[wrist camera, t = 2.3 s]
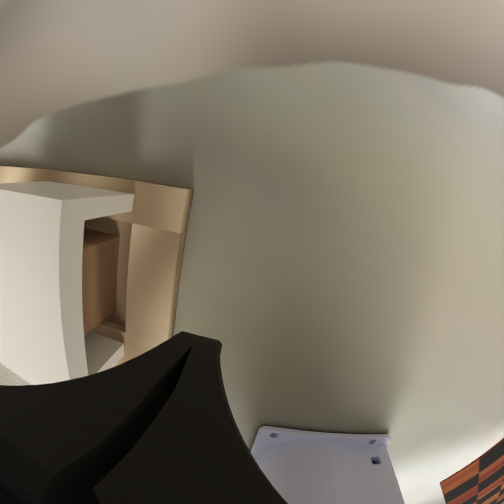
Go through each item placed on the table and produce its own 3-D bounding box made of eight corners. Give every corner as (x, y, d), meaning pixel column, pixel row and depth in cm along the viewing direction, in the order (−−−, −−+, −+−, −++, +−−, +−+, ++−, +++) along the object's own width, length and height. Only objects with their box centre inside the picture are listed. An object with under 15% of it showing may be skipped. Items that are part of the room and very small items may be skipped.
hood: (134, 194, 12) (62, 200, 7) (124, 354, 14) (76, 410, 9) (47, 181, 13) (-23, 185, 8) (47, 322, 15) (-6, 358, 10)
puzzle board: (193, 189, 13) (187, 189, 12) (169, 389, 16) (164, 399, 15) (-7, 165, 14) (-16, 165, 13) (-4, 310, 17) (-12, 314, 16)
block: (119, 236, 14) (69, 254, 10) (115, 310, 15) (73, 344, 10) (62, 222, 14) (10, 234, 10) (61, 290, 15) (16, 315, 11)
